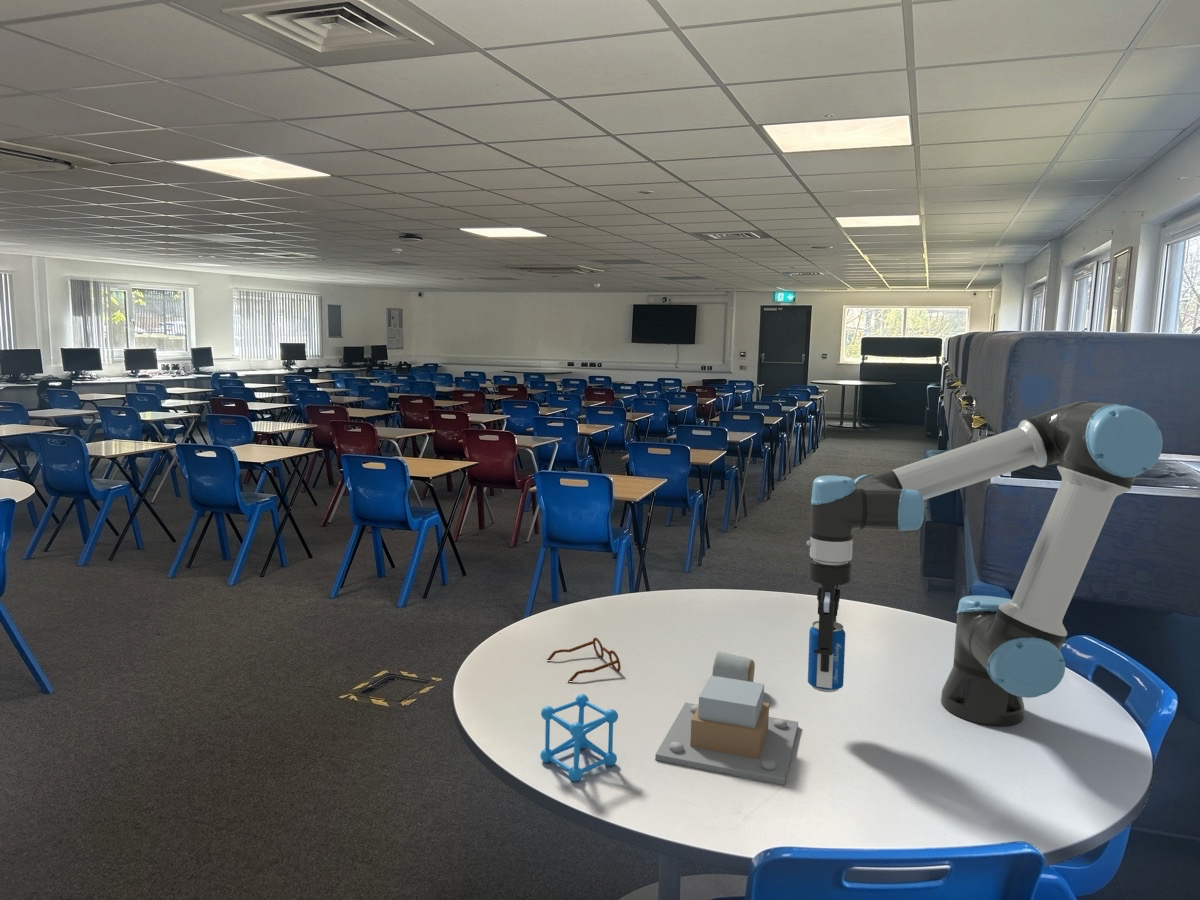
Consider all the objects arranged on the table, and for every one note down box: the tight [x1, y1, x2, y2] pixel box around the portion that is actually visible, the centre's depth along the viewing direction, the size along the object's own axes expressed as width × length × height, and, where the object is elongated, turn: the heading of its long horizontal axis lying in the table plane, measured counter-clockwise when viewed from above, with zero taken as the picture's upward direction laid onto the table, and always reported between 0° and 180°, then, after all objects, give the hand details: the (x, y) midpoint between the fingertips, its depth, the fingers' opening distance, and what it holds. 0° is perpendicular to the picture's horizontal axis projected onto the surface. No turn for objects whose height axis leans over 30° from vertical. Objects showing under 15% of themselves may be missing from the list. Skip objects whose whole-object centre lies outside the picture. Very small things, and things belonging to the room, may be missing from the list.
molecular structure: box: [539, 693, 619, 782], centre depth 137 cm, size 10×10×10 cm
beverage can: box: [807, 620, 846, 693], centre depth 150 cm, size 6×6×12 cm
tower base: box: [655, 675, 799, 786], centre depth 145 cm, size 22×22×10 cm
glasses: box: [546, 637, 622, 682], centre depth 178 cm, size 13×13×5 cm
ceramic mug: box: [711, 650, 756, 682], centre depth 170 cm, size 11×8×8 cm
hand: (825, 678), depth 151 cm, fingers closed on beverage can, 6 cm apart
